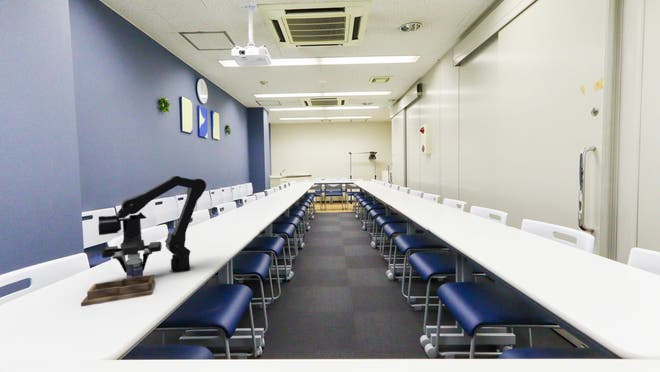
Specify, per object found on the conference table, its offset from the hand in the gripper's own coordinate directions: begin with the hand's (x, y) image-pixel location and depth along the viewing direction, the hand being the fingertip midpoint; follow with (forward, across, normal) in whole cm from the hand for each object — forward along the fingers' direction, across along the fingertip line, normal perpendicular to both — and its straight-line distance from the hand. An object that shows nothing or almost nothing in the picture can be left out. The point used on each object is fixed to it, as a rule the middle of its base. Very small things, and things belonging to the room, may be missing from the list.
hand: (134, 271), depth 117 cm
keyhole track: (+3, -2, -14) cm, 14 cm away
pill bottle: (+3, 0, 0) cm, 3 cm away
